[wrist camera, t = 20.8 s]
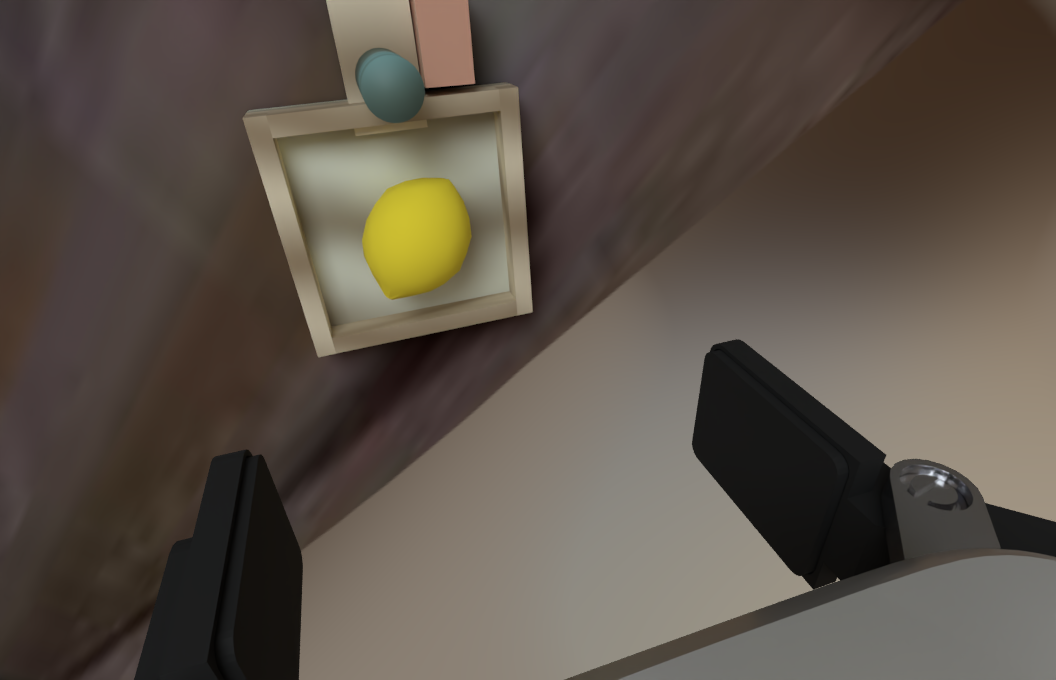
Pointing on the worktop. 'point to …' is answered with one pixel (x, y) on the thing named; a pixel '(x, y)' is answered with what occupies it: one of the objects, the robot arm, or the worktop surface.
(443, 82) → the pink rectangular block
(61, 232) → the worktop surface
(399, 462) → the worktop surface
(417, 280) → the lemon
